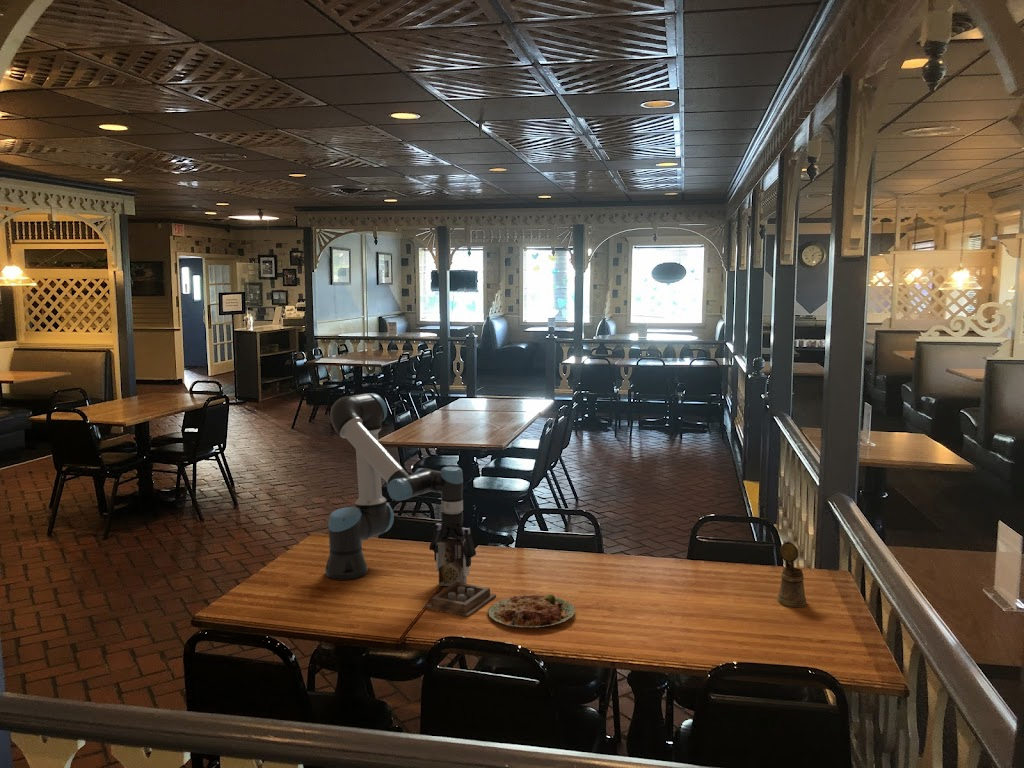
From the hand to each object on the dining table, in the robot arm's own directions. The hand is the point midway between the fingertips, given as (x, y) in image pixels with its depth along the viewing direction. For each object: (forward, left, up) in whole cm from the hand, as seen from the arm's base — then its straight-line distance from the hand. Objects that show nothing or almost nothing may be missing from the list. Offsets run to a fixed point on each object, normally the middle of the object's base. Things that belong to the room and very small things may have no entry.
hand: (452, 572), depth 278 cm
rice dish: (+36, -11, -5) cm, 38 cm away
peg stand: (+11, -13, -4) cm, 18 cm away
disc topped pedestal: (+108, +38, -4) cm, 115 cm away
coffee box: (0, 0, -4) cm, 4 cm away
